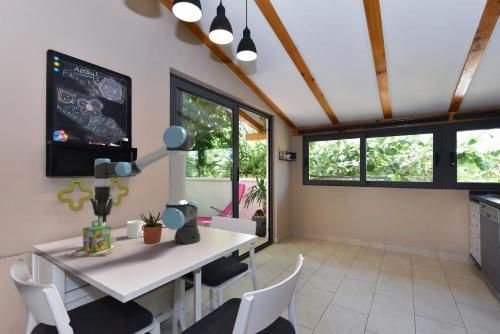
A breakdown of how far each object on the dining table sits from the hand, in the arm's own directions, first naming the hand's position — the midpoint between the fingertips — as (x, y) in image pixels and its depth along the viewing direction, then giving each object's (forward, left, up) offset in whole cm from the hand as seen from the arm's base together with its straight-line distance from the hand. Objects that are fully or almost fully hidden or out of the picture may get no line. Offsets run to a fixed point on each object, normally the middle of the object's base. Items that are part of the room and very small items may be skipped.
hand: (102, 227), depth 139 cm
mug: (-12, -16, -9) cm, 22 cm away
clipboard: (-5, +13, -9) cm, 16 cm away
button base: (0, 0, -9) cm, 9 cm away
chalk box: (-5, +12, -8) cm, 16 cm away
